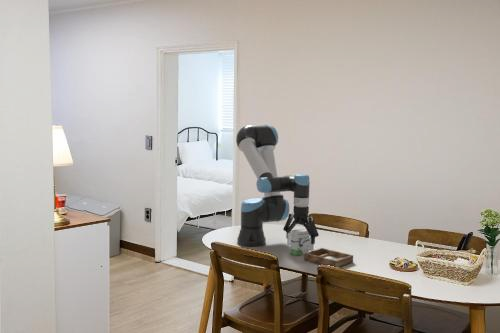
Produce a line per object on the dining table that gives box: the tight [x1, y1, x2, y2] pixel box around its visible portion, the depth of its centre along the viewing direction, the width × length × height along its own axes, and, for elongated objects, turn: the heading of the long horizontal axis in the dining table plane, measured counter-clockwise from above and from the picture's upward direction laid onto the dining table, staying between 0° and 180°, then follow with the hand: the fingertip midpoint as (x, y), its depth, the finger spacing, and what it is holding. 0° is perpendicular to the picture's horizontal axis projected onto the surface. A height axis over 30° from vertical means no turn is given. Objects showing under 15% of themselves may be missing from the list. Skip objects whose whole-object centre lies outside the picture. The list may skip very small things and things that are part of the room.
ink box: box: [290, 228, 311, 256], centre depth 262 cm, size 9×5×12 cm, turn 128°
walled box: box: [304, 247, 354, 268], centre depth 250 cm, size 18×14×4 cm
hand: (300, 247), depth 262 cm, fingers open, 13 cm apart
